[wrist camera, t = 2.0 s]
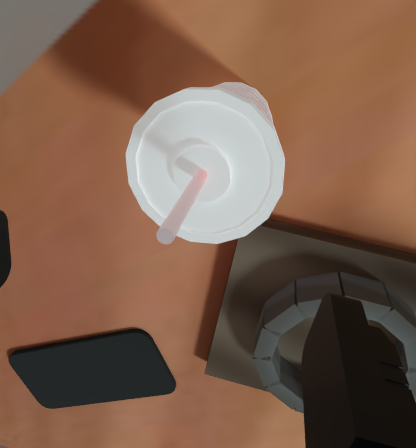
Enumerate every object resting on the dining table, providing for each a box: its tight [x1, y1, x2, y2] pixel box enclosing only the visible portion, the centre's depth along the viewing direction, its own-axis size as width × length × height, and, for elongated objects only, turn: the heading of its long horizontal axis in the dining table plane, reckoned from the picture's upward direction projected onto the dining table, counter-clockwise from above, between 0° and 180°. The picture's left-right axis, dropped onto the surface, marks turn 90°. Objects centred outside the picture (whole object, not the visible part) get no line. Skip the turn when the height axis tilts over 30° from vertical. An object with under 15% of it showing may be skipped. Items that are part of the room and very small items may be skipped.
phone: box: [9, 329, 176, 409], centre depth 34 cm, size 7×1×15 cm
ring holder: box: [204, 219, 416, 413], centre depth 26 cm, size 14×16×4 cm
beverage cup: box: [126, 82, 285, 244], centre depth 16 cm, size 6×6×14 cm
